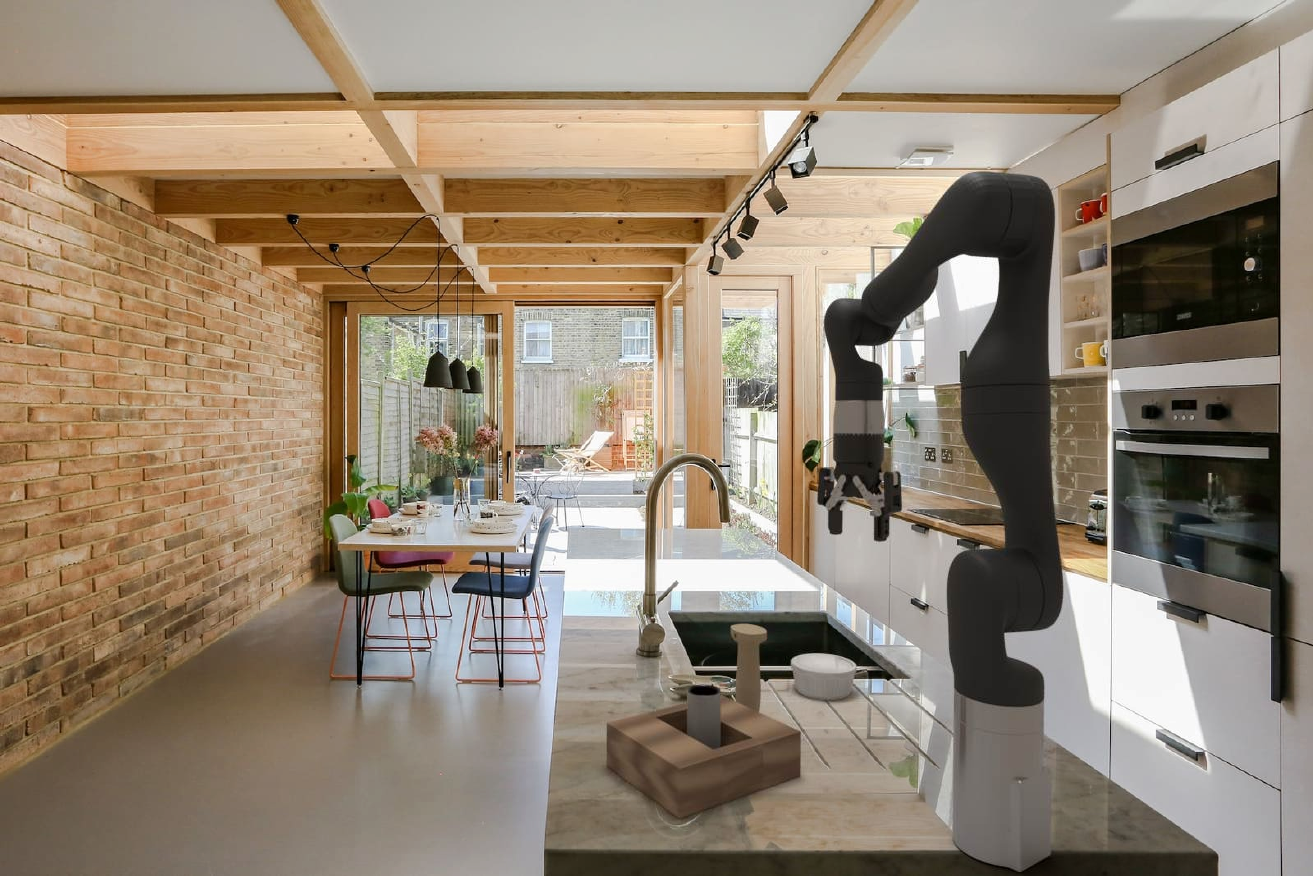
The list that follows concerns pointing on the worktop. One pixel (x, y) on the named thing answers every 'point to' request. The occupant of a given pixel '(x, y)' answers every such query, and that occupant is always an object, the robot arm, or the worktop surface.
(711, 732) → the grey cylinder
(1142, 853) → the worktop surface
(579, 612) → the worktop surface
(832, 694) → the ramekin
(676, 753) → the well block
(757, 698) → the handle
